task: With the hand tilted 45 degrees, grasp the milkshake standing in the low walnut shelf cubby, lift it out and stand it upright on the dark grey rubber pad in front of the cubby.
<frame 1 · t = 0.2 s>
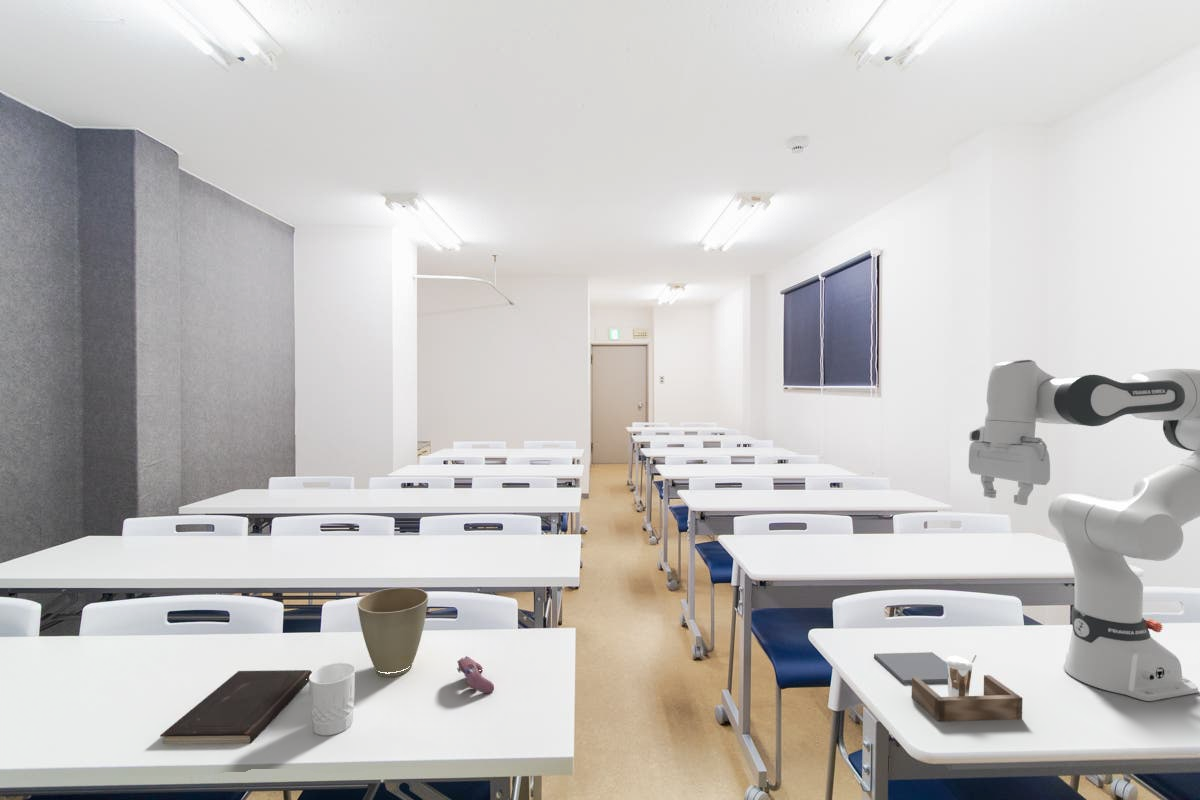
hand: (1004, 500, 123), 39 cm above the table, tool pointing down, fingers open, 8 cm apart
plant pot: (394, 670, 130), on the table
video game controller: (474, 686, 123), on the table
milkshake: (960, 704, 116), on the table
walnut cubby: (960, 703, 116), on the table
white cup: (333, 726, 109), on the table
grey pad: (918, 669, 130), on the table
hardcover book: (244, 711, 115), on the table
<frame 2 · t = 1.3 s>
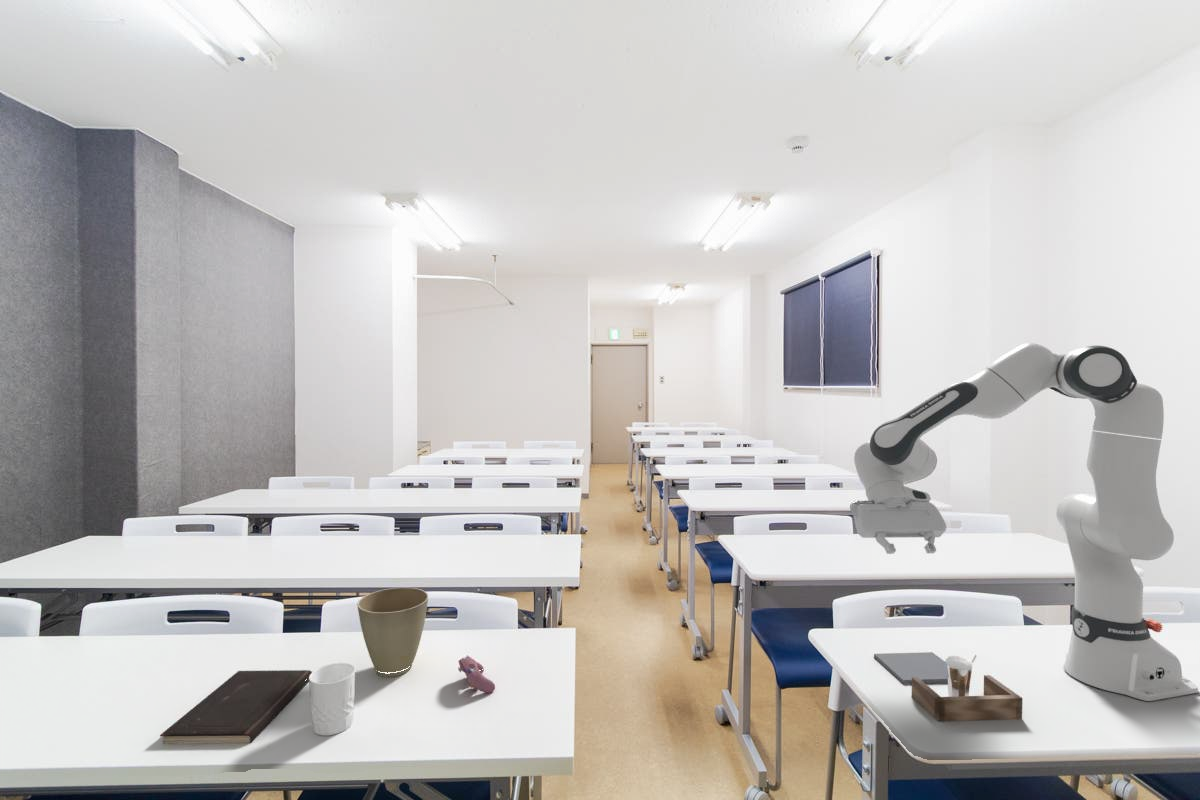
hand: (911, 552, 132), 25 cm above the table, tool tilted 45°, fingers open, 8 cm apart
nothing on the table moved.
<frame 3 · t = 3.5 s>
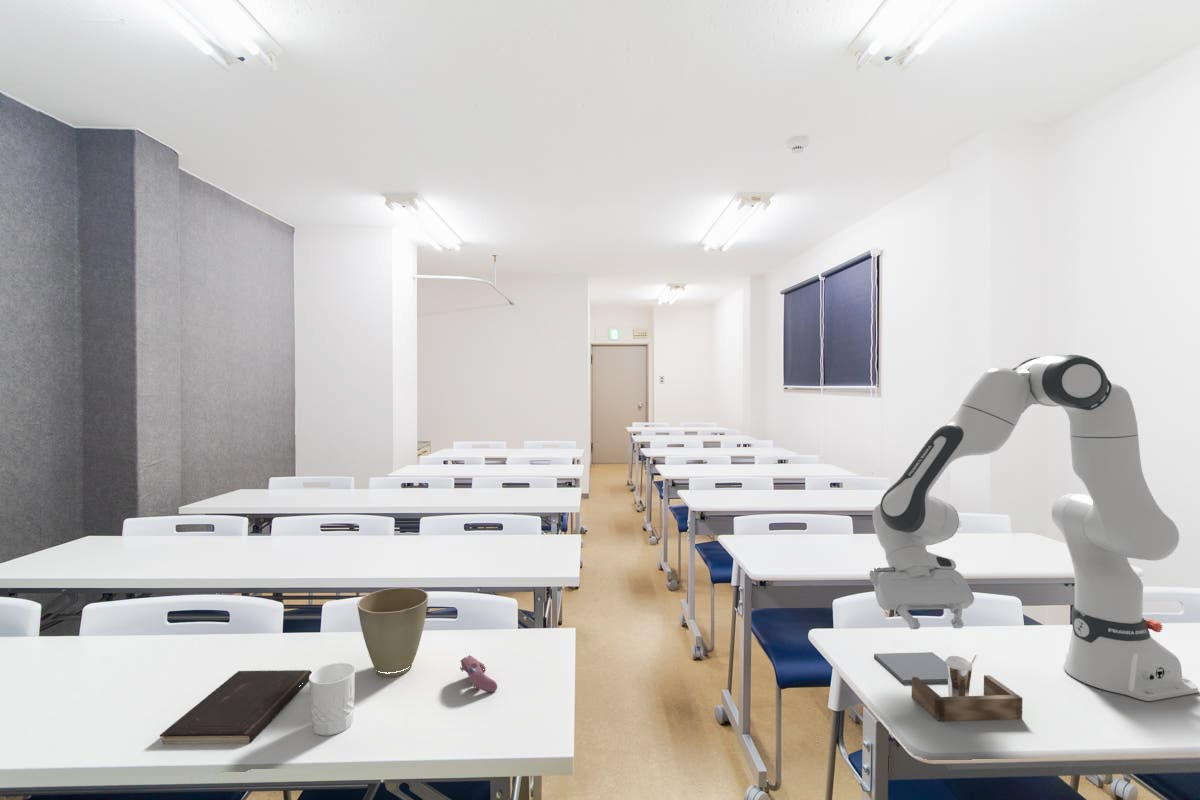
hand: (937, 627, 123), 12 cm above the table, tool tilted 45°, fingers open, 8 cm apart
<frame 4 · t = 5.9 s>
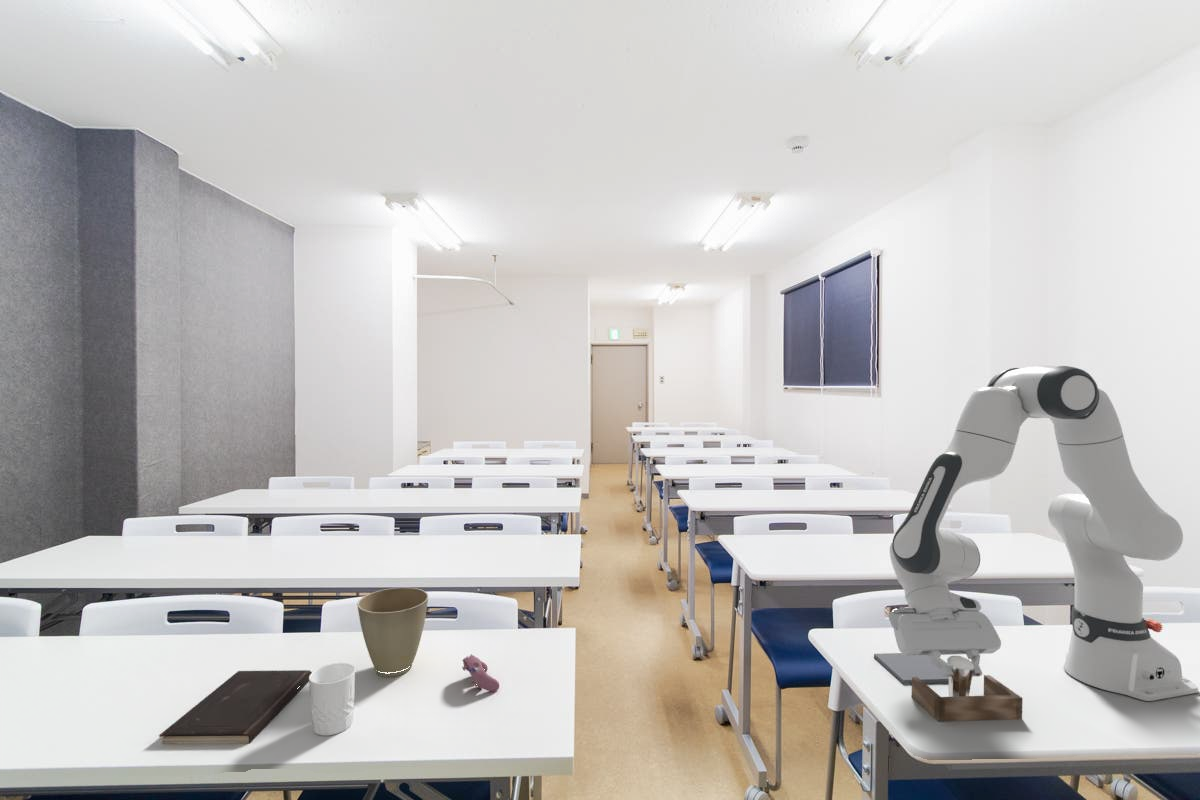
hand: (963, 676, 115), 6 cm above the table, tool tilted 45°, fingers closed on milkshake, 4 cm apart
milkshake: (960, 704, 116), on the table, touching gripper
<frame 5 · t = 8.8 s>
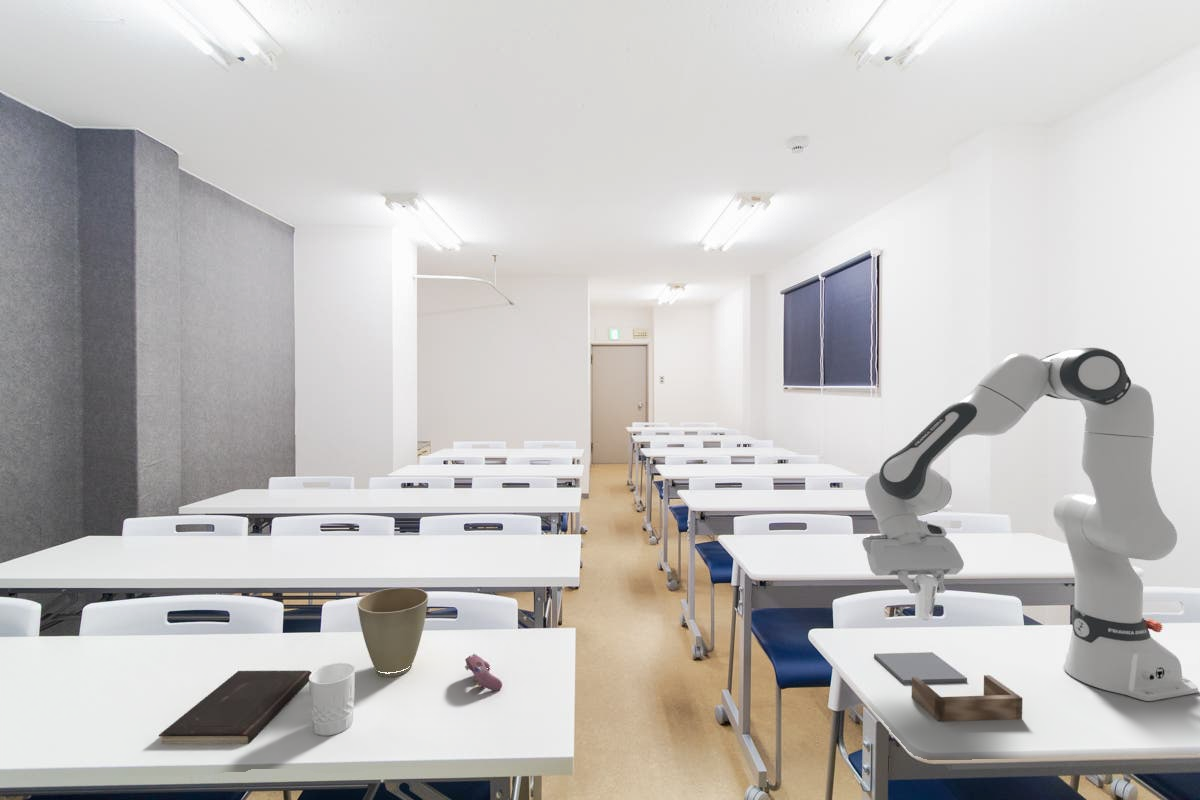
hand: (928, 592, 126), 19 cm above the table, tool tilted 45°, fingers closed on milkshake, 4 cm apart
milkshake: (925, 618, 127), point 13 cm above the table, touching gripper
when the fingers open (8 cm above the table, at t = 11.5 s): milkshake moves 1 cm, resting on grey pad.
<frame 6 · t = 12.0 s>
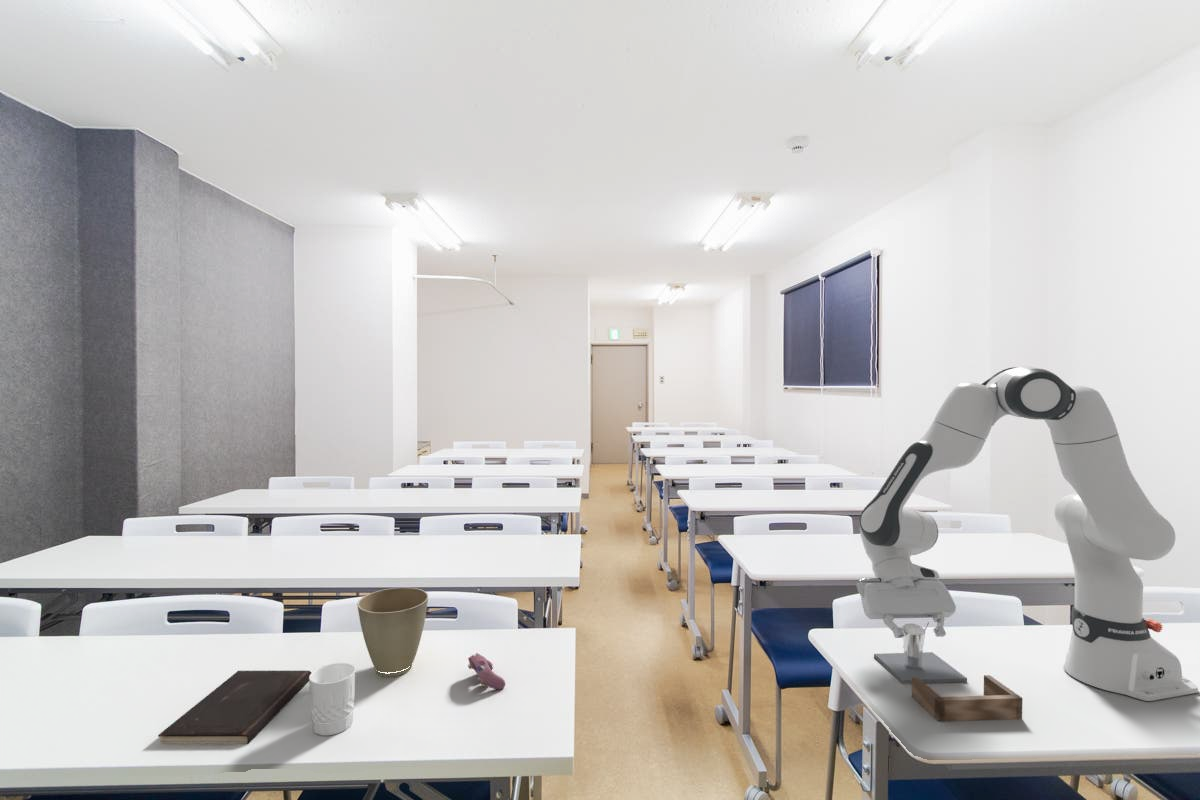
hand: (920, 636, 129), 8 cm above the table, tool tilted 45°, fingers open, 8 cm apart
milkshake: (915, 666, 130), point 1 cm above the table, touching grey pad
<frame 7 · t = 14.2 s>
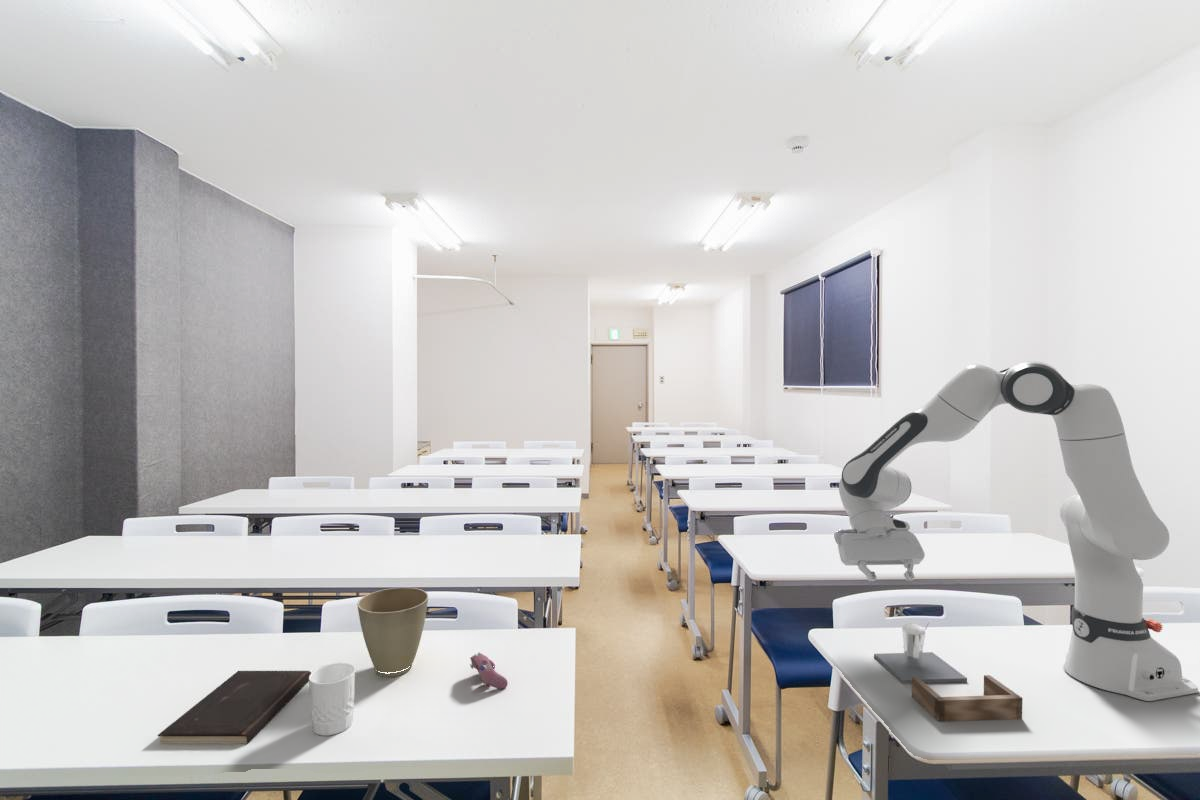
hand: (891, 579, 141), 16 cm above the table, tool tilted 45°, fingers open, 8 cm apart
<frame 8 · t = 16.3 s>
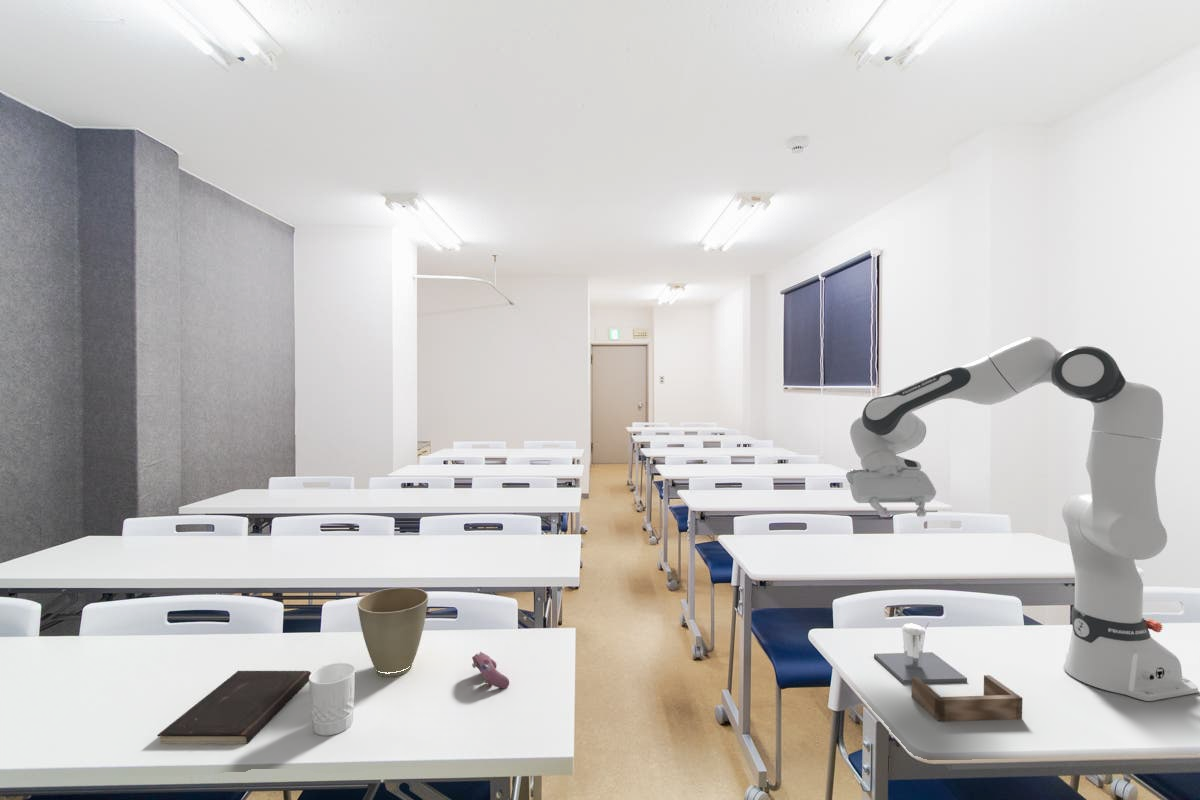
hand: (903, 515, 143), 31 cm above the table, tool tilted 45°, fingers open, 8 cm apart
at the end: milkshake inside the target area on the grey pad (0.9 cm from its centre), point 0.6 cm above the grey pad's base; milkshake tilted 0°; the gripper is holding nothing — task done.
